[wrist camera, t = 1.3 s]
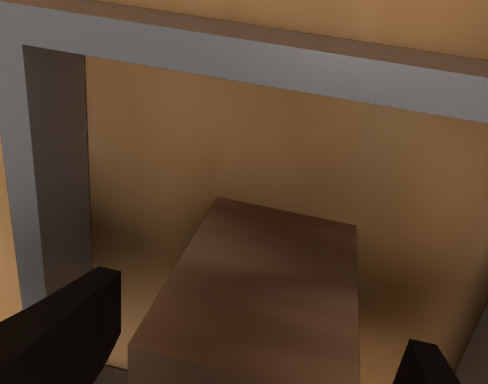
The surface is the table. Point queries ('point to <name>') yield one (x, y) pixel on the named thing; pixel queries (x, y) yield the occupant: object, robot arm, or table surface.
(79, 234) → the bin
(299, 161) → the table surface
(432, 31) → the table surface
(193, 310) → the walnut block
